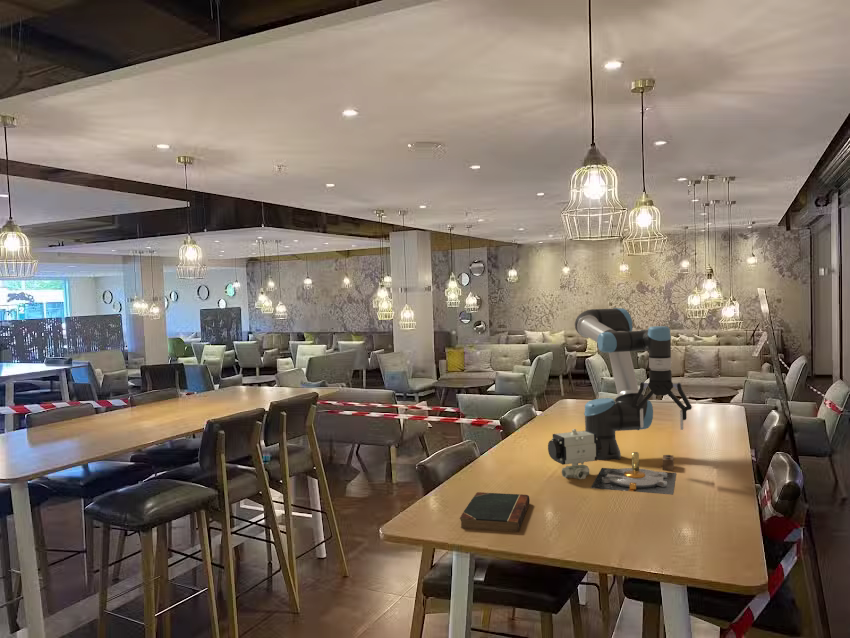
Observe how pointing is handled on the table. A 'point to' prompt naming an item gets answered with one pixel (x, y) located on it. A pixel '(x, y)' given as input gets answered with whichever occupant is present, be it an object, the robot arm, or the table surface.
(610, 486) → the base plate
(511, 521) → the book
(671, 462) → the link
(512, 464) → the table surface
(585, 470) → the ball valve
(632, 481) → the turntable with brass post
